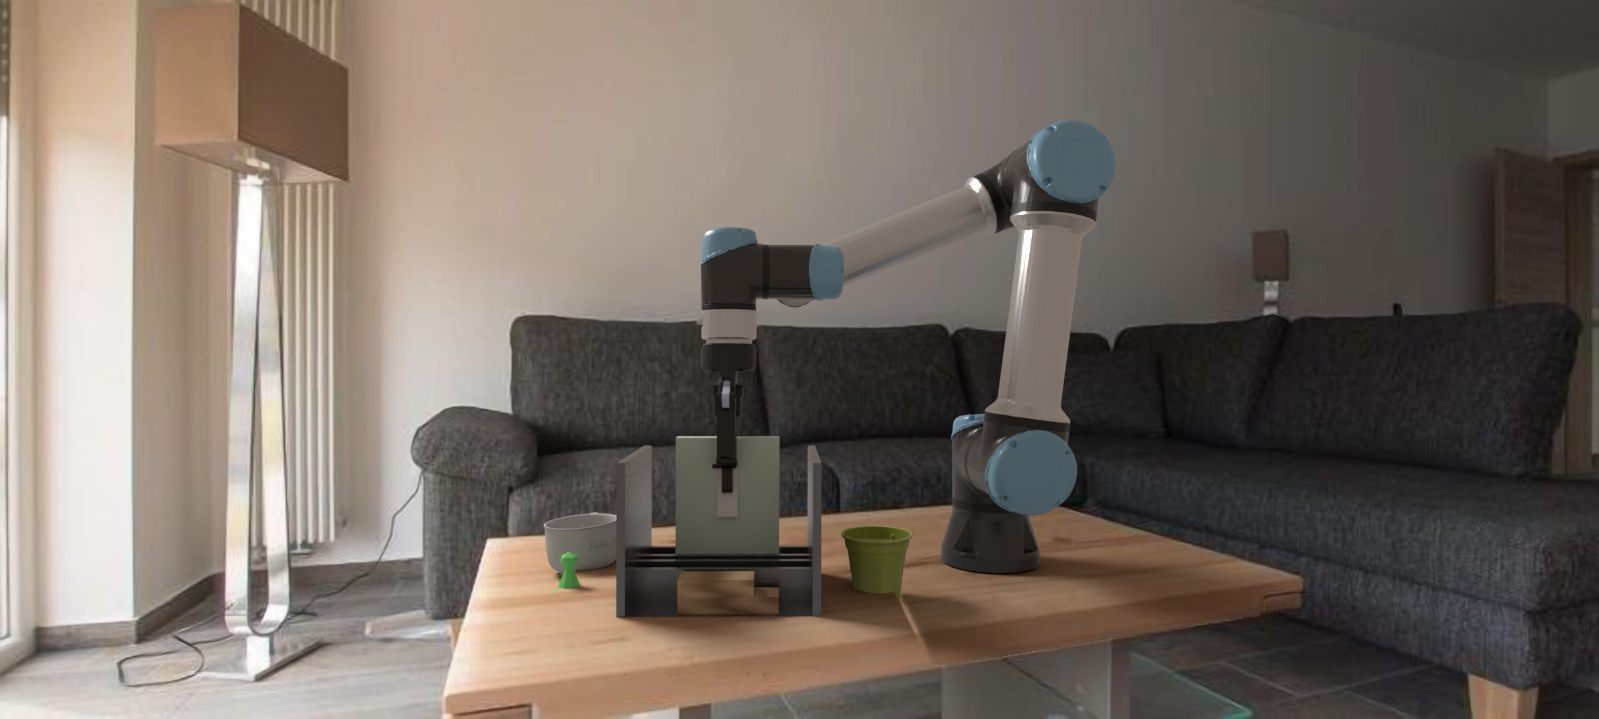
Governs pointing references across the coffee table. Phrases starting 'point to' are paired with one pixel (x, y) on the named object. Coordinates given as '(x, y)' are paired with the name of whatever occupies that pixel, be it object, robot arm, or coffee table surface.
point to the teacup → (582, 540)
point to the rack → (656, 569)
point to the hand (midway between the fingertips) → (728, 513)
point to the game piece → (568, 572)
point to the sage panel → (755, 497)
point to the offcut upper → (716, 584)
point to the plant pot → (877, 557)
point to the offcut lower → (732, 603)
